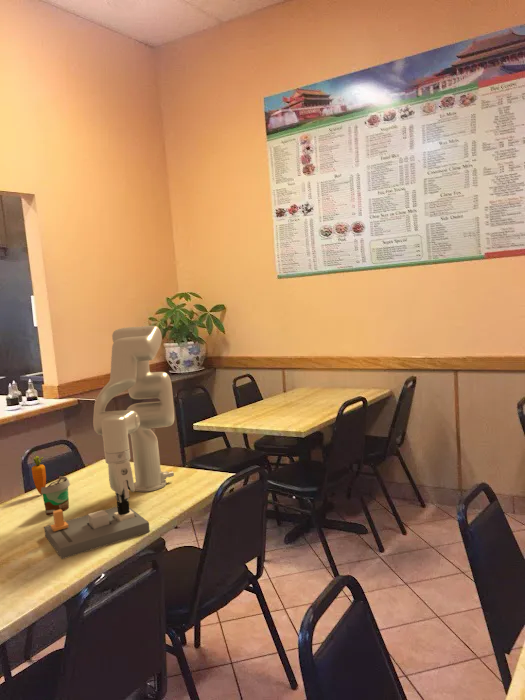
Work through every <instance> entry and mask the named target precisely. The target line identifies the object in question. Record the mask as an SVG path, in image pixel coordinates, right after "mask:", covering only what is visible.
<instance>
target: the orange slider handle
mask: <svg viewBox="0 0 525 700" xmlns="http://www.w3.org/2000/svg"><path fill="white" fill-rule="evenodd" d="M52 517H53V521H54V522H53V524H54V525H53V524H50V525H51V529H52V530H53V531H58V530H61V529H65V528H68V527H69V525H68V524H67V523H66V521H67V520H64V512H63V511H62V510H61V509H59V510H56V511H53V516H52ZM64 521H65V522H64Z"/></svg>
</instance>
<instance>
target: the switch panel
mask: <svg viewBox="0 0 525 700" xmlns="http://www.w3.org/2000/svg"><path fill="white" fill-rule="evenodd" d="M129 509H130V510H131V511H132V512H134V516H135V517H133V518H130V519H127V520H123V521H120V522H118V521H117V520H116V519H115V516H114V513H115V512H118V508H117V506H115V507H111V508H108V509H103V510H104V511H105V512H106V513H108V516H109V525H106V526H102V527H99V528H96V529H91V528H90V527H89V519H88V514H86V515H83V516H79V517H75V518H72V519H68V520H64V522H65V521H66V523H67V524H68V525H69V527H68V528H65V529H61V530H58V531H53V530H52V529H51V525H54V523H52V524H50V525H46V526H43V528H44V536H45V538H46V539H47V541H48V542H49V544H50V545H51V546H52V547H53V549H54V550H55V552H56V553H57V554H58V556H59V557H60V559H61V560H63V559H66V558H69V557H72V556H75V555H78V554H81V553H85V552H86V553H87V552H89V551H91V550H95V549H98V548H101V547H104V546H108V545H110V544H114V543H117V542H120V541H121V542H122V541H123V540H126V539H127V540H128V539H131V538H134V537H137V536H140V535H143V534H147V533H150V523H149V521H148V520H146V519H145V518H144V517H143V516H141V514H139V513H138V512H136V511H135V509H133V508H131V507H130V506H129Z"/></svg>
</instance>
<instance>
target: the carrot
mask: <svg viewBox="0 0 525 700" xmlns="http://www.w3.org/2000/svg"><path fill="white" fill-rule="evenodd" d="M43 459H44V456H42V457H40V456H38V455H36V456H34V457H33V461H34V464H35V465H34V466H32V467H31V473H32V475H31V476H32V480H33V483H34V485H35V488H36V490H37V492H38V493H39V494H40V495H41V496H43V494H41V487H47V486H46V485H47V473H46V466H45V465H44V464H41V462H42V460H43Z"/></svg>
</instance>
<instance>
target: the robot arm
mask: <svg viewBox="0 0 525 700" xmlns="http://www.w3.org/2000/svg"><path fill="white" fill-rule="evenodd" d="M111 337H112V342H113V343H112V346H111V356H110V357H111V358H110V359H111V360H110V372H109V373H110V374H109V375H110V377H109V381H108V382H107V384H105V385H104V386H103V388H102V389H101V390H100V392H99V393H98V394H97V397H96V399H95V402H94V404H93V405H94V406H93V419H92V421H93V422H92V423H93V424H92V426H93V430H94V432H95V433H96V434H97V435H99V436H102V440H103V441H102V442H103V451H104V452H103V453H104V459H105V464H107V468H108V470H107V471H108V479H109V480H108V481H109V485H110V489H111V490H112V491H114V494H115V499H116V507H117V508H118V514H120V515H123V514H126V513H129V512H130V510H129V507H130V503H129V499H130V492H131V493H134V492H141V493H144V492H152V491H157V490H160V489H162V488H164V487H166V486H167V480H166V479H167V478H171V477H175V475H174V471H173V470H171V471H167V470H166V471H162V470H161V460H160V459H161V458H160V450H159V442H158V437H157V435H156V434H155V433H154V431H153V430H152V429H157V428H166V427H171V426H172V425H174V422H175V418H176V417H175V406H174V405H175V404H174V395H173V394H174V393H173V386H172V385H173V384H172V379H171V377H170V375H169V374H168V373H167V372H165V371H152V372H151V371H150V368H151V367H150V361H153V360H154V359H155V358H156V356H157V354H158V352H159V349H160V347H161V345H162V340H163V339H162V338H163V335H162V332H161V329H160V328H159V327H158V326H156V325H143V326H129V327H121V328H118V329H115V330H114V331H113V332H112V334H111ZM125 391H128V394H129V397H130V398H131V399H133V400H147V399H158V400H159V401H147V402H138V403H133V404H131V405H129V406H128V407H127V408H126V410H124V409H121V410H112V411H111V410H110V411H106V407H107V405H108V404H109V403H110V401H112V399H113V398H115V397H116V396H118V395H119V394H121V393H124V392H125ZM129 435H130V439H129ZM129 440H130V441H129ZM130 442H131V450H130ZM131 451H132V459H133V468H134V475H135V477H133V470H132V467H131ZM134 478H135V481H134ZM129 491H130V492H129Z"/></svg>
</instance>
